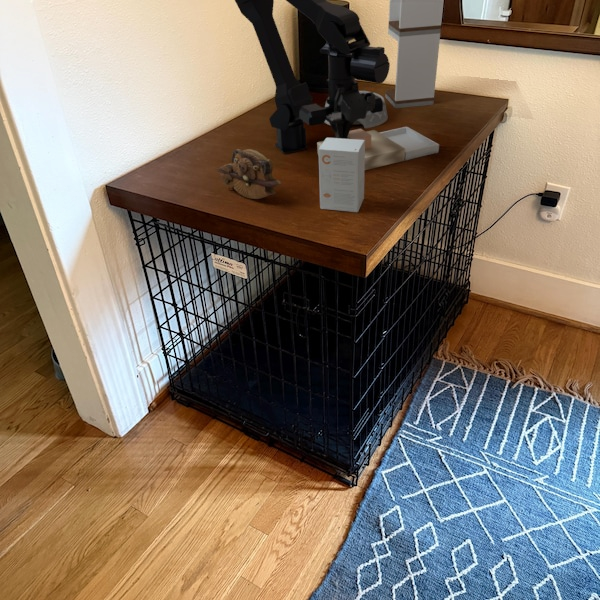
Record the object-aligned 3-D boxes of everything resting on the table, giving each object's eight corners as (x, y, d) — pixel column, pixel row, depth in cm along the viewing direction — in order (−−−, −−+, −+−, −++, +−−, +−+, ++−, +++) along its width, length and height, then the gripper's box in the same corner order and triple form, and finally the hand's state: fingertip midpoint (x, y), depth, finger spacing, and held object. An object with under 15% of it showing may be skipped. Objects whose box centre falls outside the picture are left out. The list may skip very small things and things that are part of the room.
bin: (405, 160, 133) (405, 152, 132) (374, 141, 143) (375, 133, 142) (438, 152, 136) (439, 144, 134) (406, 134, 146) (406, 126, 145)
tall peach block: (352, 151, 131) (352, 139, 129) (342, 144, 134) (342, 132, 132) (371, 147, 132) (371, 135, 130) (360, 140, 136) (360, 128, 134)
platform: (344, 175, 128) (344, 162, 126) (317, 154, 138) (317, 142, 136) (404, 160, 133) (405, 148, 131) (373, 141, 143) (374, 129, 141)
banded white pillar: (421, 93, 172) (432, -40, 150) (433, 104, 163) (447, -35, 142) (385, 97, 170) (391, -37, 149) (395, 108, 162) (403, -32, 141)
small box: (364, 199, 118) (366, 139, 110) (357, 213, 113) (359, 151, 105) (326, 195, 120) (326, 136, 112) (319, 209, 115) (317, 148, 108)
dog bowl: (386, 130, 150) (387, 109, 146) (318, 129, 152) (318, 109, 149) (388, 108, 163) (389, 89, 160) (326, 108, 166) (325, 89, 163)
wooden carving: (215, 192, 124) (208, 148, 118) (228, 183, 127) (222, 141, 121) (274, 209, 116) (271, 164, 110) (287, 200, 119) (284, 156, 113)
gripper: (319, 93, 113) (320, 166, 123) (398, 78, 119) (394, 149, 128) (296, 79, 121) (300, 148, 131) (372, 66, 127) (369, 133, 136)
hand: (341, 145), depth 131 cm, fingers closed
